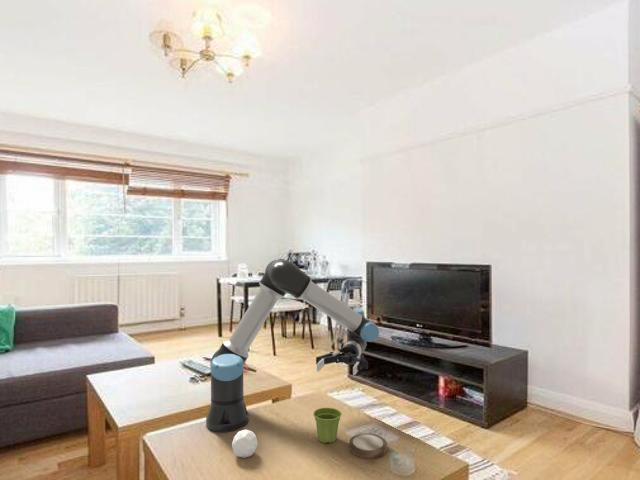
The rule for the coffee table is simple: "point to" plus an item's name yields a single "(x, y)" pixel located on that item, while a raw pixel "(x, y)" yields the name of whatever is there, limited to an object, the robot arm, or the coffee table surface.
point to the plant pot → (327, 424)
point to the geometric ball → (244, 443)
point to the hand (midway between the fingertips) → (335, 369)
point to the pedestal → (368, 446)
